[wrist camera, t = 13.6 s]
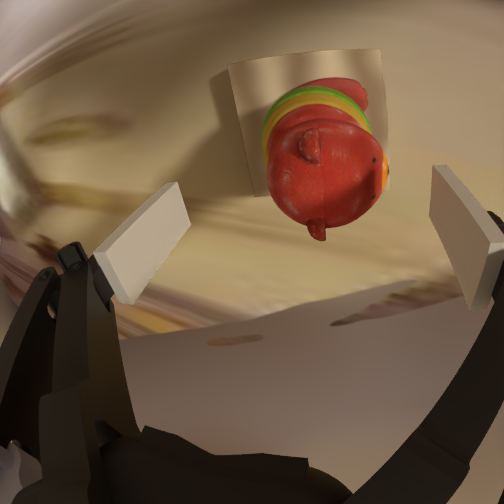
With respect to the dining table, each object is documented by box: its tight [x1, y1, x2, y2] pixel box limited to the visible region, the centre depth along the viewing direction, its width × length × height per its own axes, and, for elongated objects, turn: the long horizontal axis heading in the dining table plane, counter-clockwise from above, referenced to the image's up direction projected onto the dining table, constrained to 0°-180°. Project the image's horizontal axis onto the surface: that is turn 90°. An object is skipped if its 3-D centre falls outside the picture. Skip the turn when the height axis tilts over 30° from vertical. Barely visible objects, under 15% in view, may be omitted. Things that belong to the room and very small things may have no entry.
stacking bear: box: [261, 77, 389, 241], centre depth 22 cm, size 11×10×18 cm
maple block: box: [227, 49, 390, 197], centre depth 31 cm, size 16×16×4 cm
